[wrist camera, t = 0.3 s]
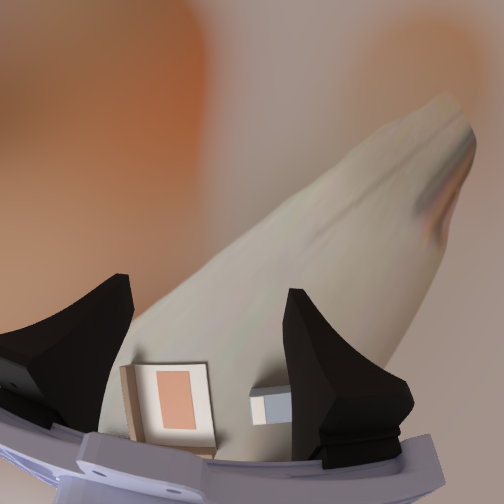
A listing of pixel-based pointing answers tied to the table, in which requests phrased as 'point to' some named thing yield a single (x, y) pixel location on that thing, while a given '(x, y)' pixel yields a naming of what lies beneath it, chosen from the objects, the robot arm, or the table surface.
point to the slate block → (270, 405)
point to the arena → (169, 407)
